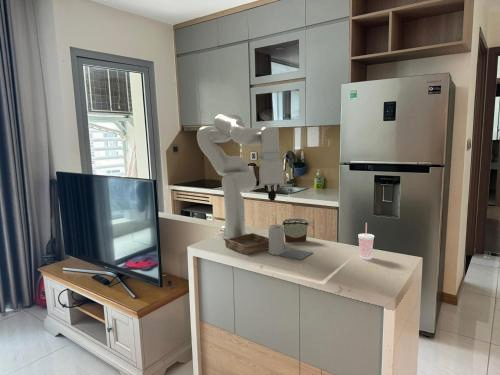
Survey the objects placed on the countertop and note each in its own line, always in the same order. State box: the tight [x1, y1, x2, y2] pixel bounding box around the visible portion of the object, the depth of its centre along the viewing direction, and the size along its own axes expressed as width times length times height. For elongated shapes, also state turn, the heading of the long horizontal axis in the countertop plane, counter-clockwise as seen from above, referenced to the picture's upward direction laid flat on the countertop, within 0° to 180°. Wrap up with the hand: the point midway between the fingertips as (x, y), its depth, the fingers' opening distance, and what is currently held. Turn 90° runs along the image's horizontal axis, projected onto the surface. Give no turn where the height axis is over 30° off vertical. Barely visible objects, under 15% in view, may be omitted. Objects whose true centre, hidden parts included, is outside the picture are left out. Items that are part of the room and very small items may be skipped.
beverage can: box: [268, 224, 285, 256], centre depth 148 cm, size 6×6×12 cm
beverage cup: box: [357, 222, 375, 260], centre depth 140 cm, size 6×6×14 cm
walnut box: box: [224, 232, 269, 256], centre depth 158 cm, size 16×16×4 cm
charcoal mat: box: [279, 248, 313, 261], centre depth 147 cm, size 10×10×1 cm
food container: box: [281, 218, 310, 243], centre depth 166 cm, size 12×6×10 cm, turn 84°
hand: (272, 200), depth 151 cm, fingers closed
